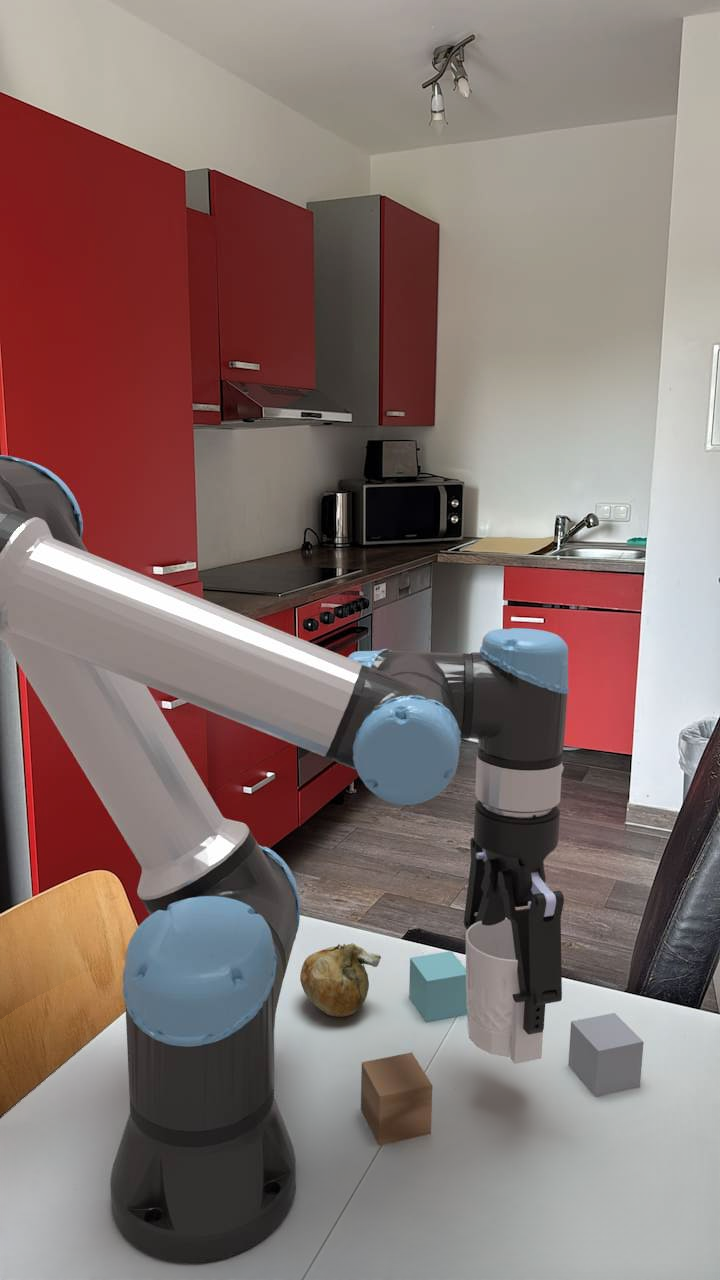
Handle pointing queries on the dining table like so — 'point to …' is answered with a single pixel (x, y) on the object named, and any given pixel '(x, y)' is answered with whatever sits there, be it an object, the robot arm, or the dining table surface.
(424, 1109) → the walnut block
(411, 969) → the dusty teal block
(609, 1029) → the slate grey block
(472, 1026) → the white cup
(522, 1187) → the dining table surface
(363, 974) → the onion
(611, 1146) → the dining table surface
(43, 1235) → the dining table surface
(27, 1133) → the dining table surface
